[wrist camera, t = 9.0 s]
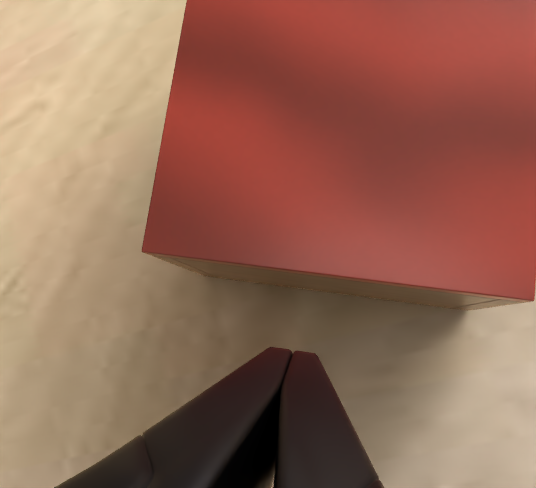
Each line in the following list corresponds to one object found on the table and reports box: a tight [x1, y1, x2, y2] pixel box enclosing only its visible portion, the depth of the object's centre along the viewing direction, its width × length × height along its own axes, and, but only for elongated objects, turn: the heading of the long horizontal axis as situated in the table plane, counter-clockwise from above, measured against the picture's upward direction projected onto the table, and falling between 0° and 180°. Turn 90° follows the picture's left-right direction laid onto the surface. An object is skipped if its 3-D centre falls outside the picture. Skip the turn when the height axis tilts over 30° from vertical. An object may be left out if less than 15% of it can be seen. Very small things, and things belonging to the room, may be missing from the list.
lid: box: [142, 0, 536, 302], centre depth 19 cm, size 13×14×1 cm
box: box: [152, 255, 524, 311], centre depth 23 cm, size 13×14×8 cm
